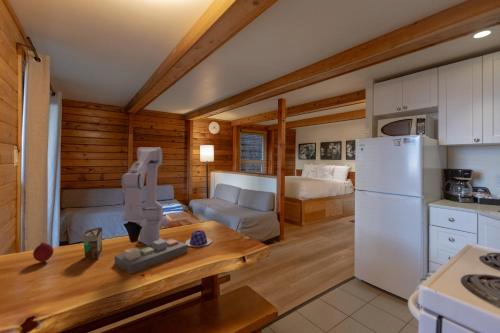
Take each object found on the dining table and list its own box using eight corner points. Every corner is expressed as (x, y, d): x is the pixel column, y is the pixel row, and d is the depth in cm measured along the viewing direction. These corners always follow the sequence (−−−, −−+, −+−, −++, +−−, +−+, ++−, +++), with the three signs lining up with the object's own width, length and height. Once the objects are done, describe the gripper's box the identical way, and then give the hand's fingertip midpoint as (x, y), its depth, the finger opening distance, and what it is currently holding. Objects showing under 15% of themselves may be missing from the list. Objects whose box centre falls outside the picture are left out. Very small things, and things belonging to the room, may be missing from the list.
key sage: (139, 258, 93) (139, 249, 93) (148, 254, 96) (148, 246, 96) (144, 260, 91) (144, 252, 91) (154, 257, 94) (154, 249, 94)
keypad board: (114, 263, 90) (114, 255, 90) (170, 244, 109) (170, 238, 109) (130, 273, 83) (130, 265, 82) (187, 251, 102) (187, 244, 101)
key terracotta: (164, 249, 102) (164, 241, 102) (172, 246, 105) (172, 239, 105) (170, 251, 99) (169, 244, 99) (178, 248, 103) (178, 241, 102)
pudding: (192, 237, 119) (192, 227, 119) (215, 239, 117) (215, 229, 116) (180, 246, 108) (180, 235, 107) (205, 249, 105) (205, 237, 105)
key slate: (152, 249, 97) (152, 242, 97) (161, 246, 101) (161, 239, 100) (157, 252, 95) (157, 244, 95) (166, 249, 98) (166, 241, 98)
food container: (85, 251, 101) (84, 228, 100) (102, 249, 103) (102, 226, 103) (77, 264, 89) (77, 237, 89) (97, 261, 92) (96, 235, 91)
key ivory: (124, 259, 89) (124, 250, 89) (135, 255, 92) (135, 247, 92) (129, 262, 86) (129, 253, 86) (140, 258, 90) (140, 249, 89)
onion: (57, 260, 93) (56, 239, 92) (40, 266, 87) (39, 245, 87) (47, 258, 94) (46, 237, 94) (29, 264, 89) (28, 243, 89)
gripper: (113, 204, 90) (113, 240, 91) (132, 210, 81) (133, 249, 82) (132, 201, 95) (132, 235, 96) (152, 206, 87) (152, 243, 87)
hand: (134, 241), depth 89 cm, fingers closed
